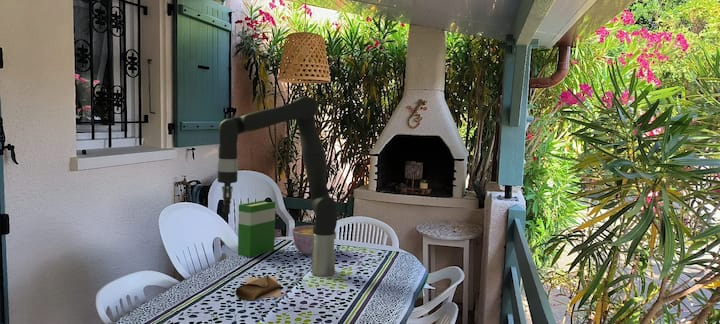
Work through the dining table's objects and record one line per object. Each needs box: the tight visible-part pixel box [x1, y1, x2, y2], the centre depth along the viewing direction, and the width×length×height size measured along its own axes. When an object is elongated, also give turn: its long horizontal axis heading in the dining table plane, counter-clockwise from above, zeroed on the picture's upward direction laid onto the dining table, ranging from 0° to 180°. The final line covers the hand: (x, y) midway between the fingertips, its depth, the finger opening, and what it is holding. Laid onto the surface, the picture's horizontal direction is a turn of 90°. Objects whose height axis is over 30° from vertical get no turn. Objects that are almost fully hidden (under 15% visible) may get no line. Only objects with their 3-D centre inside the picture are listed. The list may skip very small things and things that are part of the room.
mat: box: [245, 277, 283, 299], centre depth 188 cm, size 12×22×1 cm, turn 15°
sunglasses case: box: [235, 274, 283, 301], centre depth 183 cm, size 18×7×7 cm
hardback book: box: [237, 200, 276, 258], centre depth 237 cm, size 18×7×24 cm, turn 150°
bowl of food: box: [291, 225, 315, 256], centre depth 239 cm, size 20×20×12 cm
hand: (226, 213), depth 194 cm, fingers closed
